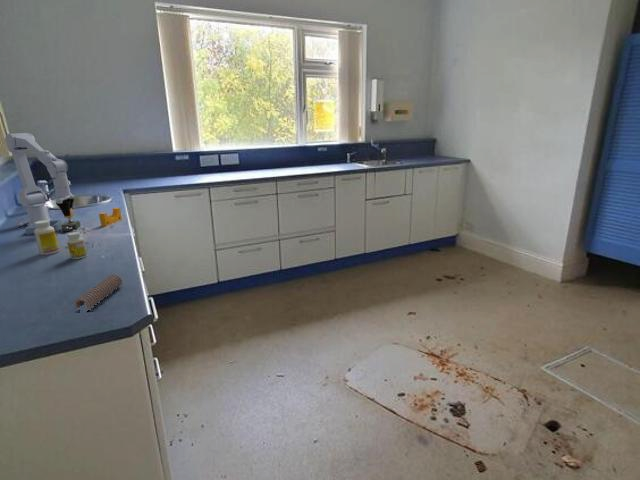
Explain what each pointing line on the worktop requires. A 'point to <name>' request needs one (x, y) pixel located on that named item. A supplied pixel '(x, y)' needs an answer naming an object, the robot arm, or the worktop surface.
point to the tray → (55, 224)
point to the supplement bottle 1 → (46, 238)
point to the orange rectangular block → (70, 215)
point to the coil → (99, 291)
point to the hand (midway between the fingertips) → (68, 215)
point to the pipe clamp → (110, 217)
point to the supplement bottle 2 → (76, 245)
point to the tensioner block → (70, 226)
